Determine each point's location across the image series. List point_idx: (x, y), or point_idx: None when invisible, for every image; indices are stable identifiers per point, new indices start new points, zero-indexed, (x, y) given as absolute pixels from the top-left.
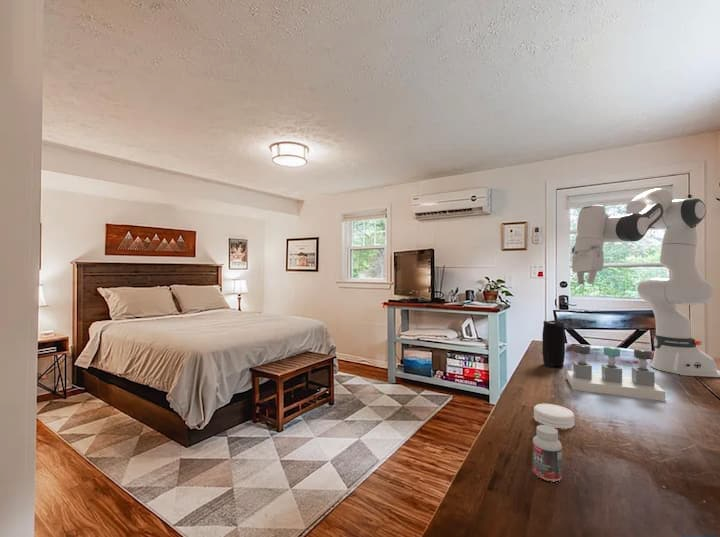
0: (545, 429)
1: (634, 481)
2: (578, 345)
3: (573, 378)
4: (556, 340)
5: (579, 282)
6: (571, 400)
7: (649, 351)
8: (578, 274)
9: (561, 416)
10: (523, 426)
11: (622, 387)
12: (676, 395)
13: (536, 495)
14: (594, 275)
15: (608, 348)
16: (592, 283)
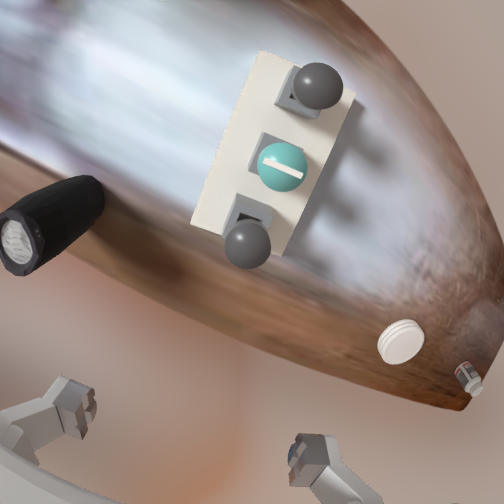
0: (477, 392)
1: (488, 316)
2: (239, 256)
3: None
4: (74, 229)
5: (91, 417)
6: (337, 282)
7: (330, 72)
8: (36, 463)
9: (421, 345)
10: (399, 368)
11: (323, 165)
12: (314, 41)
13: None
14: (365, 493)
15: (285, 181)
16: (332, 439)
